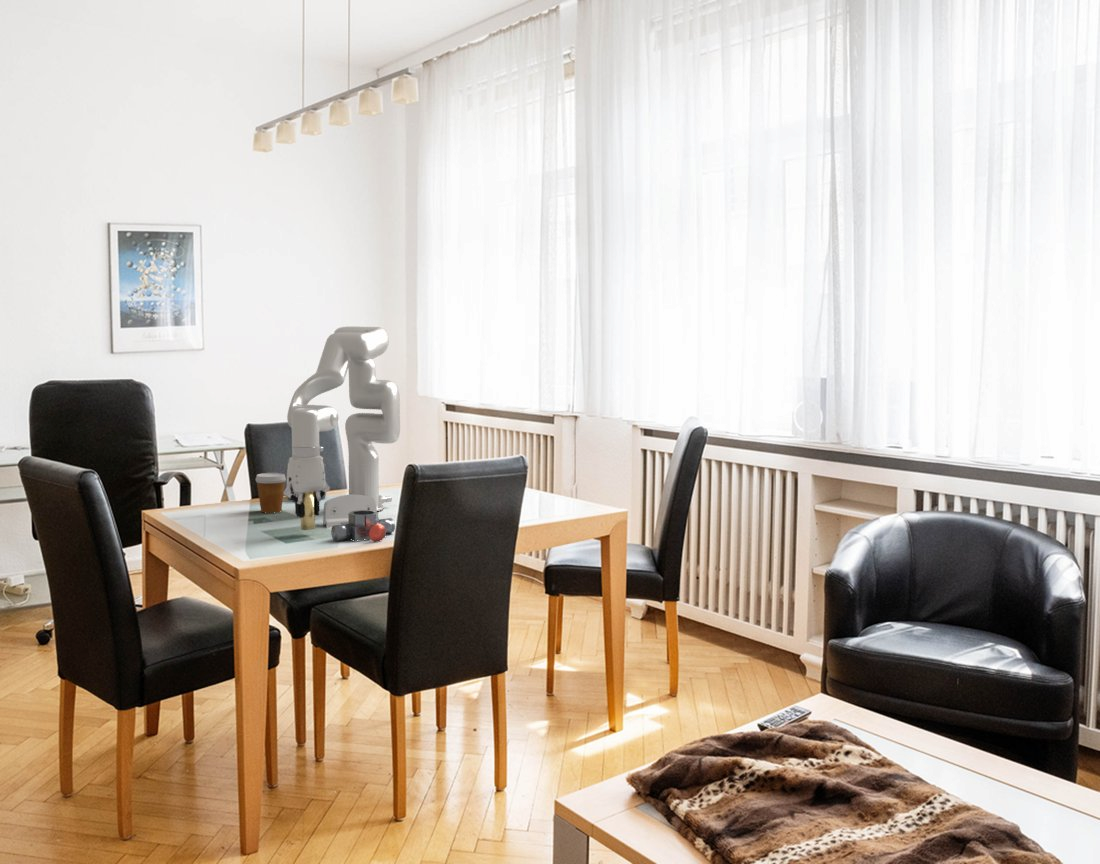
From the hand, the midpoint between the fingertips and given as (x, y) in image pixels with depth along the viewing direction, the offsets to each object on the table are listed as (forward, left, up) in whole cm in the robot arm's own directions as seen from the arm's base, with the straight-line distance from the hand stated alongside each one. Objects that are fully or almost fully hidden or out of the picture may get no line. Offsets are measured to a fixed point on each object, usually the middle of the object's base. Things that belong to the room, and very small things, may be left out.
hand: (307, 515), depth 280 cm
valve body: (-11, +13, -6) cm, 18 cm away
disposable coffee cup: (-7, -40, -6) cm, 41 cm away
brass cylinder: (0, 0, -4) cm, 4 cm away
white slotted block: (-18, -8, -6) cm, 21 cm away
